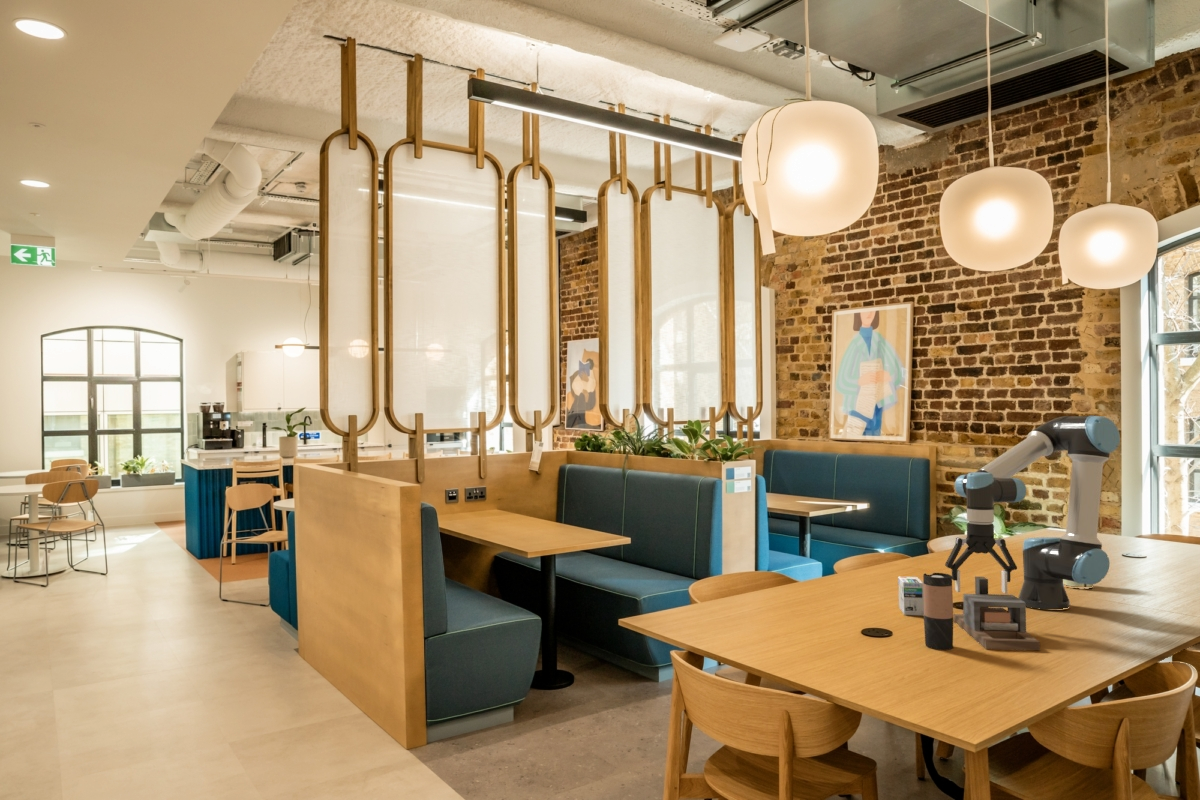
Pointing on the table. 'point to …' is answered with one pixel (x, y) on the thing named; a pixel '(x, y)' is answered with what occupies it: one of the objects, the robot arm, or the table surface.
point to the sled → (982, 588)
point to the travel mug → (938, 611)
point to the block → (994, 615)
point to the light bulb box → (911, 595)
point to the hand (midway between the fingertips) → (981, 591)
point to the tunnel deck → (996, 637)
